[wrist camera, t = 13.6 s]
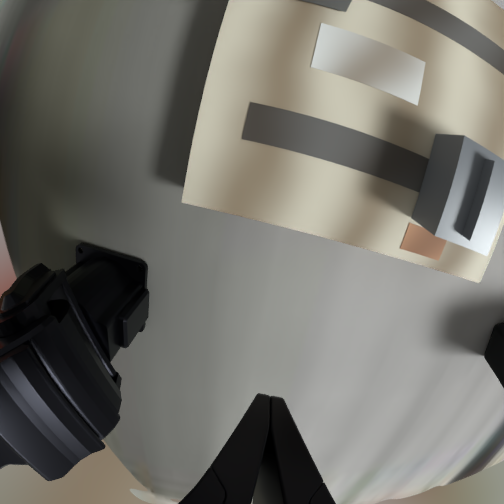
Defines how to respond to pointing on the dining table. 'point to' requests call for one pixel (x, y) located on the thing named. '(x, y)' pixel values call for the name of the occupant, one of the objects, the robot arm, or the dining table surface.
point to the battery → (496, 352)
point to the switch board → (347, 117)
